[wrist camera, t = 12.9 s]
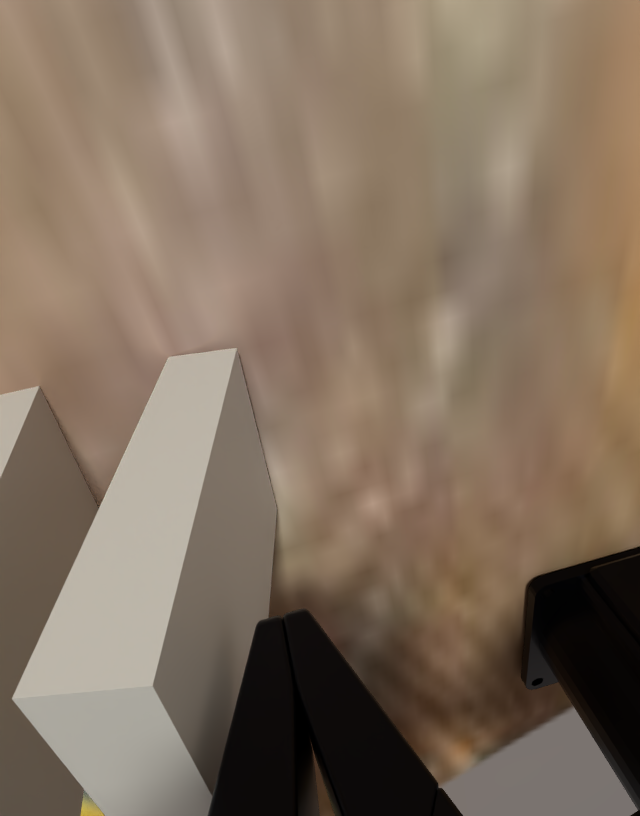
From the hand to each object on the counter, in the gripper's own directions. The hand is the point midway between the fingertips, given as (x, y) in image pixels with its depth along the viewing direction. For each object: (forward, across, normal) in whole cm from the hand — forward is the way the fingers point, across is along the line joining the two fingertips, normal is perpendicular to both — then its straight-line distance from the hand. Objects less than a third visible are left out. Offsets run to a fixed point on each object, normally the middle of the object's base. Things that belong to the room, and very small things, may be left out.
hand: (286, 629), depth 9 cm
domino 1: (+6, 0, 0) cm, 6 cm away
